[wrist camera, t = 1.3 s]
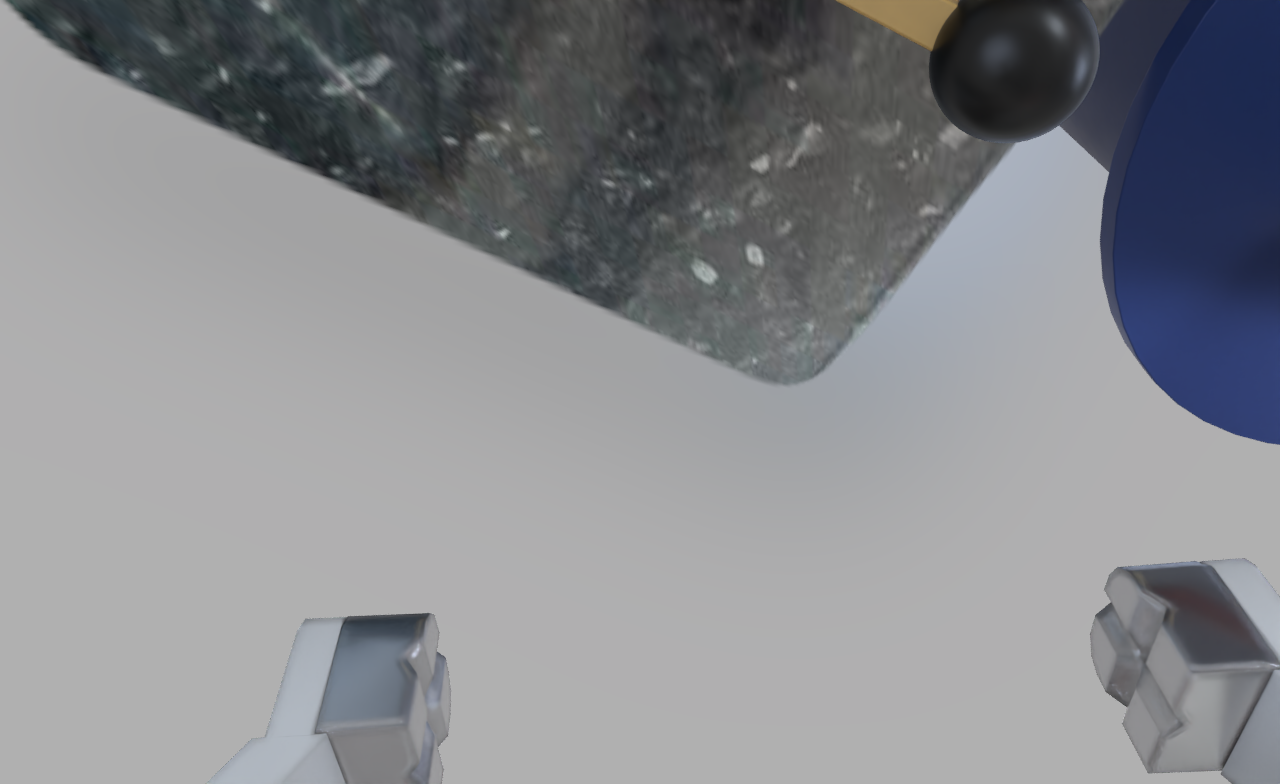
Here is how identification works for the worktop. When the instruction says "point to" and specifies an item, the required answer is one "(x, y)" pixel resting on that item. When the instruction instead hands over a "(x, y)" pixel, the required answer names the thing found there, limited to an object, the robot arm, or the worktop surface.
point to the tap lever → (999, 59)
